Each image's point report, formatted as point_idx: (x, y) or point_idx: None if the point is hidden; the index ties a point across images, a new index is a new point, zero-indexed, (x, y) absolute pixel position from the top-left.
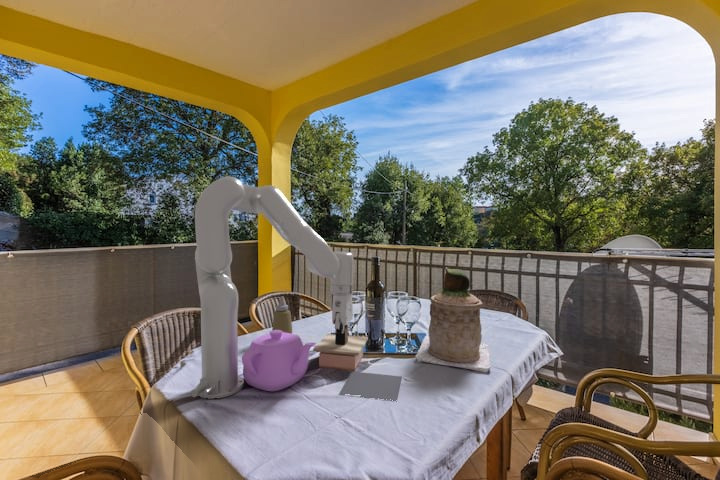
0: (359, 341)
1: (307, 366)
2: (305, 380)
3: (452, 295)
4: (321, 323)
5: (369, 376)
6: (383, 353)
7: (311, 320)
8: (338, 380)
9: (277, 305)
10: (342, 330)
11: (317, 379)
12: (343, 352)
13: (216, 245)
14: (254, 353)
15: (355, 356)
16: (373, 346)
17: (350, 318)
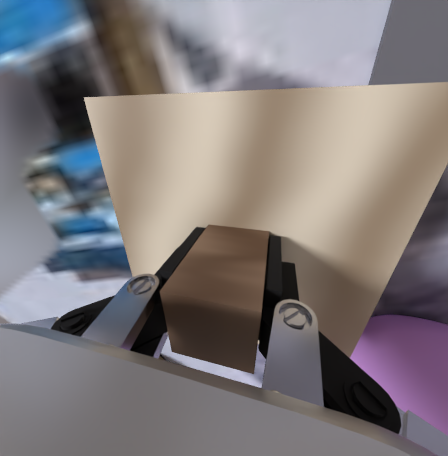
0: (184, 145)
1: (417, 333)
2: (415, 300)
3: None
4: (17, 299)
5: (444, 13)
6: (98, 28)
7: (20, 318)
8: (439, 191)
9: None
10: (314, 345)
11: (412, 268)
12: (412, 223)
13: None
14: None
15: None
16: (57, 109)
17: (78, 422)
